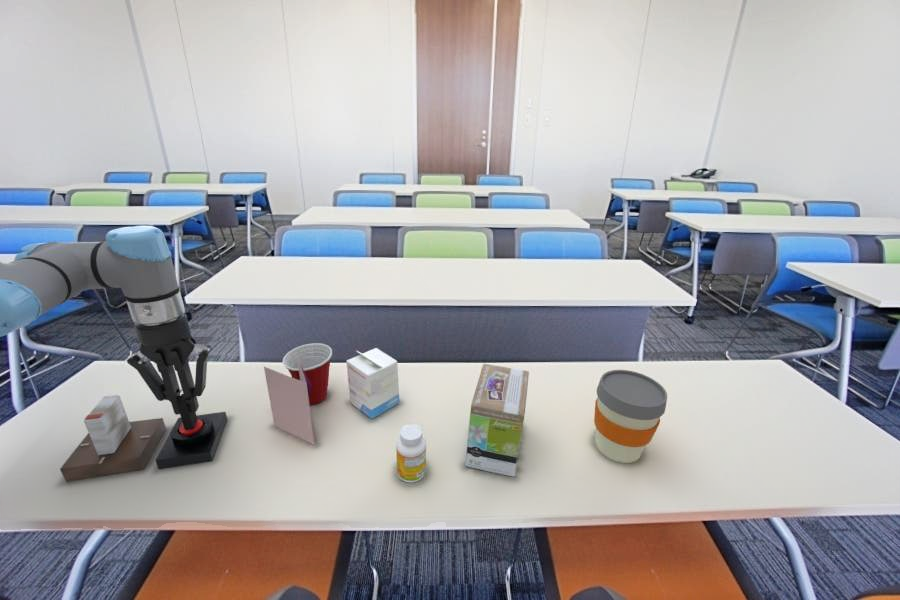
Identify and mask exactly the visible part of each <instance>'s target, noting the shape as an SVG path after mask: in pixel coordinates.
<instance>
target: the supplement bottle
mask: <svg viewBox="0 0 900 600" xmlns="http://www.w3.org/2000/svg"><path fill="white" fill-rule="evenodd" d="M424 437H425V436H423V429H422V427H421V426H419V425H417V424H413V423H412V424H411V423H410V424H407V425H404V426H403V427H402V428H401V429H400V432H399V437H398V439H397V441H396V446H395V447H396V473H397V476H398V478H399V479H400V480H401V481H403V482H405V483H416V482H418V481H420V480H422V479H423V478H424V477H425V475H426V471H427V442H426V439H425V438H424Z"/></svg>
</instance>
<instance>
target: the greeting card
mask: <svg viewBox="0 0 900 600" xmlns="http://www.w3.org/2000/svg"><path fill="white" fill-rule="evenodd" d="M297 360H298V368H299V375H300V380H297V379H294V378H292V376H290V375H287V374H285V373H282V372H279V371H276V370H274V369H271V368H269V367H266V366H263V369H264V370H263V371H264V376H265V381H266V387H267V392H268V396H269V403H270V409H271V414H272V421H273V425H274V427H275V428H277V429H280V430H282V431H284V432H286V433H288V434H289V435H292V436H295V437H297V438H299V439H300V440H303V441H305V442H307V443H309V444H311V445H314V446H315V436H314V430H313V429H314V428H313V421H312V420H313V419H312V414H311V405H309V391H310V387H311V384H310V382H309V380H308V378H307V376H306V374H305V372H304V370H303V368H302V366H301V364H300V362H299V359H298V356H297Z"/></svg>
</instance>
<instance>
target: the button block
mask: <svg viewBox="0 0 900 600" xmlns="http://www.w3.org/2000/svg"><path fill="white" fill-rule="evenodd" d="M196 416H197V419H200V420H202V422H203V425H204V427H203V428H202V429H201V430H199V431H198V432H196V433H193V434H191V435H181V434H180V431H179V428H180V426H181V425H182V424H183V423H182V419H181V416H180V417H178V418H177V420H176V421H175V423H174V425H173V426H172V428H171V430H170V431H169V434H168V436H167V438H166V440H165V441H164V443H163V446H162V447H161V449H160V451H159V453H158V454H157V457H156V458H155V462H156V466H157V468H158V470H163V469H169V468H175V467H182V466H189V465H195V464H201V463H208V462H213V461H214V457H215V456H216V455H215V454H216V452H217V449H218V447H219V444H220V441H221V438H222V435H223V434H224V433H223V432H224V430H225V427H226V425H227V422H228V416H227V412H226V411H220V412H219V411H218V412H212V413H203V414H196Z"/></svg>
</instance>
